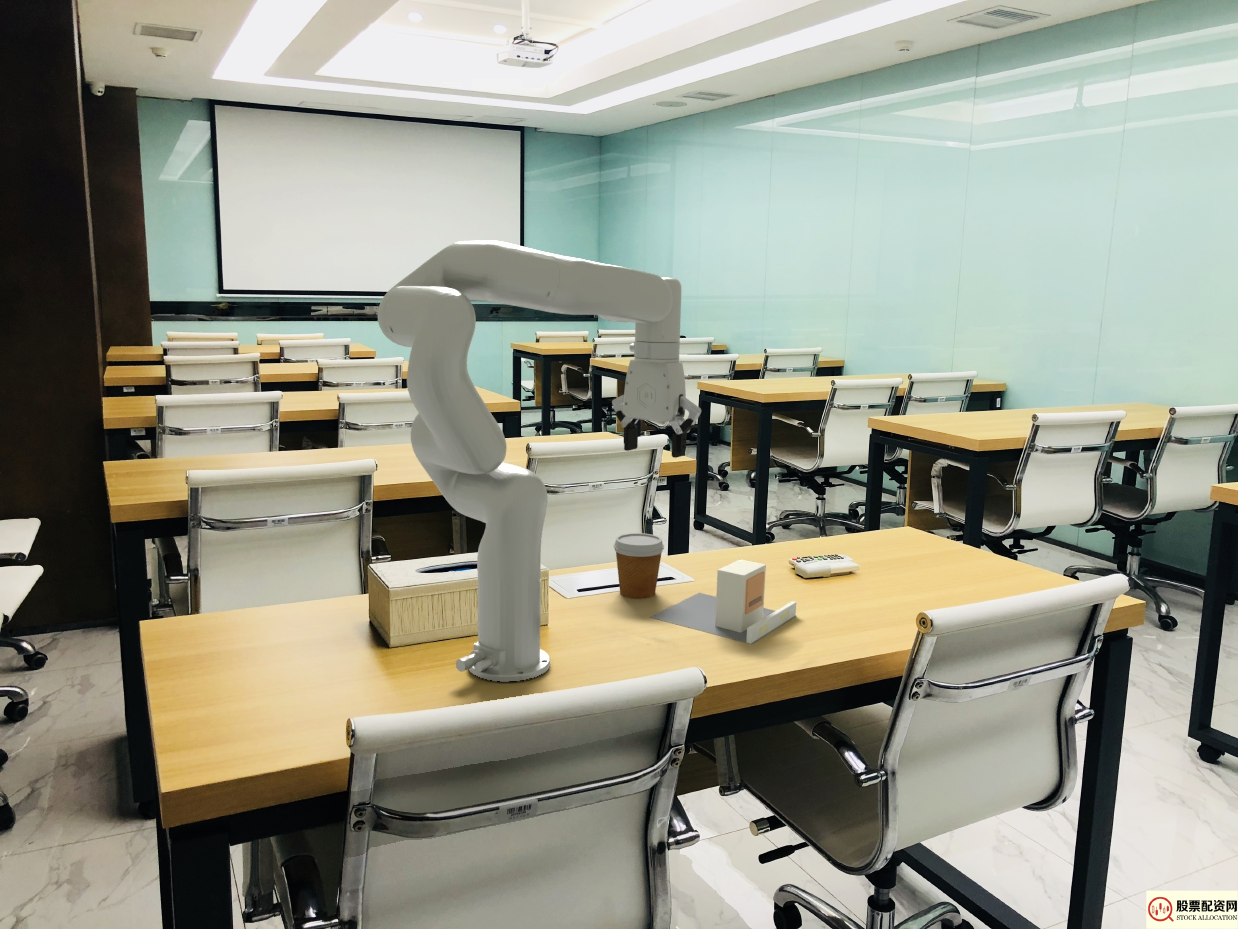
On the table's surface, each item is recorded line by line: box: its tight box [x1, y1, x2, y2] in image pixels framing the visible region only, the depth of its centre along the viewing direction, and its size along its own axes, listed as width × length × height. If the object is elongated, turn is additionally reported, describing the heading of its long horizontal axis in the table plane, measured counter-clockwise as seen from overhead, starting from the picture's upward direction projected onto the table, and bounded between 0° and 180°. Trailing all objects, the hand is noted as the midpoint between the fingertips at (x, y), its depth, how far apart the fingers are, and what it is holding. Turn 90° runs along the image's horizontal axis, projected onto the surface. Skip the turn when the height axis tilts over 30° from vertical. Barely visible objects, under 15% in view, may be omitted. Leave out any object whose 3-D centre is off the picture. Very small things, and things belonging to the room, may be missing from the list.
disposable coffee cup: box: [612, 532, 665, 600], centre depth 174 cm, size 10×10×12 cm
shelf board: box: [649, 592, 797, 645], centre depth 163 cm, size 17×20×4 cm
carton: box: [715, 558, 767, 633], centre depth 159 cm, size 5×8×10 cm
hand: (654, 452), depth 158 cm, fingers open, 9 cm apart
